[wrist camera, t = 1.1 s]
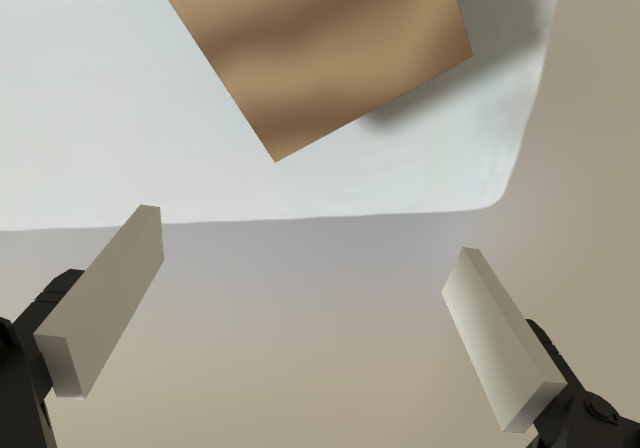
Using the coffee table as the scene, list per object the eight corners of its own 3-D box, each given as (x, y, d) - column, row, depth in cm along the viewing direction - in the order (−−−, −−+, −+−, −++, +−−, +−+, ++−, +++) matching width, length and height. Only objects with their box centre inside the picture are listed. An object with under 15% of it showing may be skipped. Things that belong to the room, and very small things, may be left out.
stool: (180, -45, 29) (126, -64, 21) (357, -180, 25) (379, -269, 17) (283, 125, 37) (274, 162, 28) (431, 41, 33) (472, 56, 25)
